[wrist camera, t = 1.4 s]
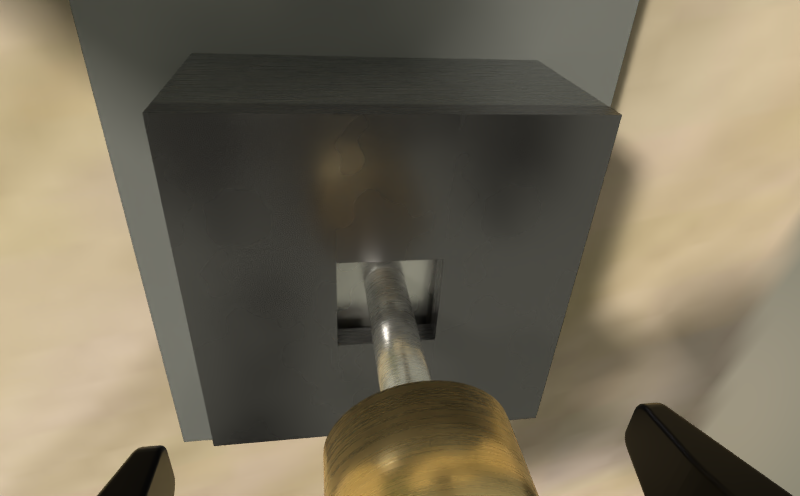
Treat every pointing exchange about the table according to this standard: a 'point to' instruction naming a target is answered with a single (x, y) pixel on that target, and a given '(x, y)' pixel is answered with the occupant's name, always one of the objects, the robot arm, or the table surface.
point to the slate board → (313, 36)
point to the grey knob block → (370, 221)
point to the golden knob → (414, 403)
